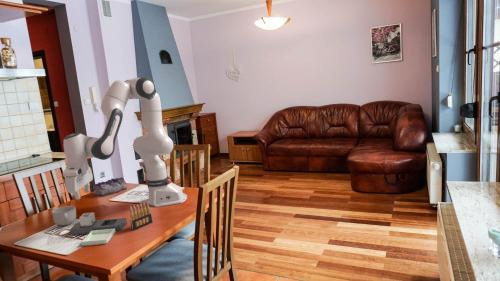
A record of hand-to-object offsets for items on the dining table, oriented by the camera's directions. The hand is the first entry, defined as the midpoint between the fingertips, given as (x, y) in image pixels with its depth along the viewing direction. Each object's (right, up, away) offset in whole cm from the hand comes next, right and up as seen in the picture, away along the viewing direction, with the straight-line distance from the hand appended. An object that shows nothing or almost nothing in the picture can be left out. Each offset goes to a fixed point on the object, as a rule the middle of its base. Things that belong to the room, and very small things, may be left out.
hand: (82, 195), depth 161 cm
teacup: (-15, -17, +13) cm, 26 cm away
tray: (+11, -19, -7) cm, 23 cm away
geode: (-11, -8, +60) cm, 61 cm away
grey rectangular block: (+1, -18, +4) cm, 18 cm away
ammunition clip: (+27, -16, +4) cm, 32 cm away
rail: (+6, -17, +4) cm, 19 cm away
